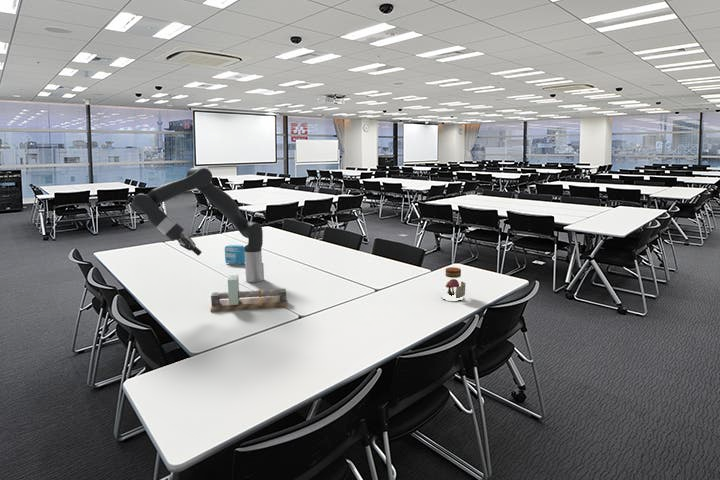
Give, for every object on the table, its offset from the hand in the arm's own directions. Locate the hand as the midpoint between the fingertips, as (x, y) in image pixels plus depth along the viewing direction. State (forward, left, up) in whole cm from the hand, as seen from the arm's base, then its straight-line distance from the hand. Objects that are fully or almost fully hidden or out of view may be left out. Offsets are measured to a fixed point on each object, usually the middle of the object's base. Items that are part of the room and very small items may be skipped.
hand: (200, 253), depth 207 cm
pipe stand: (-12, +19, -25) cm, 33 cm away
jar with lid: (-75, +94, -25) cm, 123 cm away
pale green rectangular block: (-7, +14, -23) cm, 28 cm away
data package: (-62, -51, -25) cm, 84 cm away
